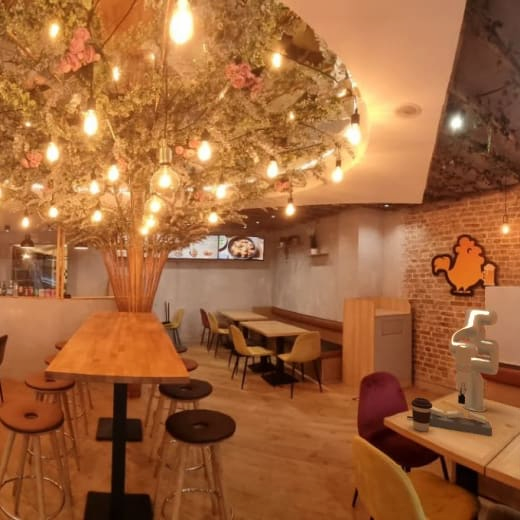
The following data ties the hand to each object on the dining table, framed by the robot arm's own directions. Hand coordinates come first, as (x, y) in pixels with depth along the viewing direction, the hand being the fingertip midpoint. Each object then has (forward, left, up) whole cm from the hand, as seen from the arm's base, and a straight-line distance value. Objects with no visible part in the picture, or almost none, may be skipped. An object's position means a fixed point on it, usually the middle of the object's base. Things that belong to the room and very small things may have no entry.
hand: (461, 403), depth 216 cm
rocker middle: (-1, -3, -6) cm, 7 cm away
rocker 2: (-1, +7, -6) cm, 10 cm away
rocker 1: (-1, -13, -6) cm, 14 cm away
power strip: (+1, -7, -12) cm, 14 cm away
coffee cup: (+13, -20, -13) cm, 27 cm away
